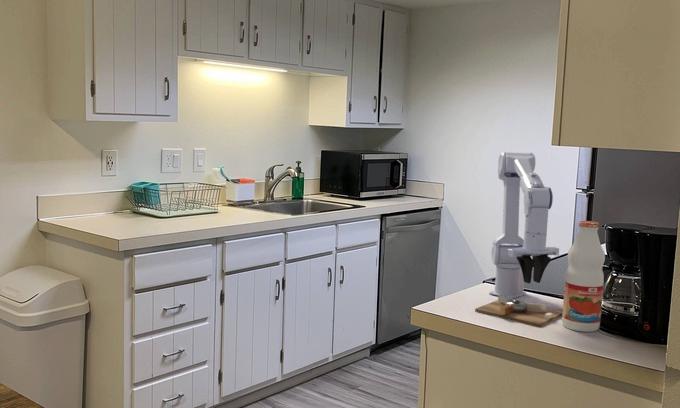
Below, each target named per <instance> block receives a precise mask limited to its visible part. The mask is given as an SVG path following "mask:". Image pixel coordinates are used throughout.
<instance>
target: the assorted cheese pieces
mask: <svg viewBox="0 0 680 408" xmlns="http://www.w3.org/2000/svg"><path fill="white" fill-rule="evenodd" d="M497 300H498V301H499V302H501V303H503V304H505V306H502V307H500V314H503V315H505V314H508V313H510V312H515V313H524V312H526V311H527V310H530V311H542V312H546V309H547V304H545V303H537V302H535V303H534V302H526V301H525V300H520V299H511V298H509V297H506V296H504V295H498V296H497Z"/></svg>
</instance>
